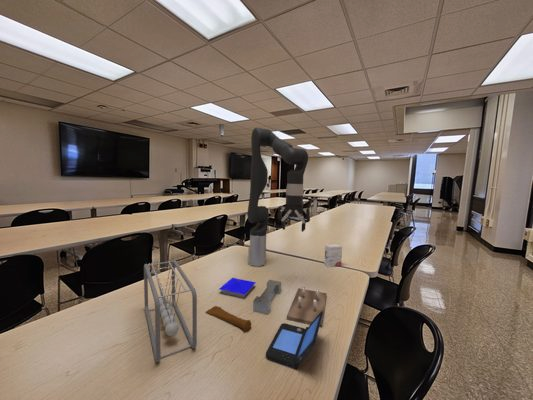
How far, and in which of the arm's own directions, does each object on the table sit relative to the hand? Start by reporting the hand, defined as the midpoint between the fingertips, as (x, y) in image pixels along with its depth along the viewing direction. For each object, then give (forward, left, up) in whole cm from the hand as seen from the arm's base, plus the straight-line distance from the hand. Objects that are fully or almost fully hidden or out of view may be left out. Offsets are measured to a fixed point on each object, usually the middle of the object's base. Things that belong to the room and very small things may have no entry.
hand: (293, 230), depth 103 cm
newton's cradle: (-31, -43, -26) cm, 59 cm away
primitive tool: (-15, -32, -27) cm, 45 cm away
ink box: (+17, +35, -26) cm, 47 cm away
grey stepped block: (-6, -15, -26) cm, 31 cm away
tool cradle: (+10, -14, -26) cm, 31 cm away
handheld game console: (+10, -37, -27) cm, 47 cm away
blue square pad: (-21, -12, -27) cm, 36 cm away
